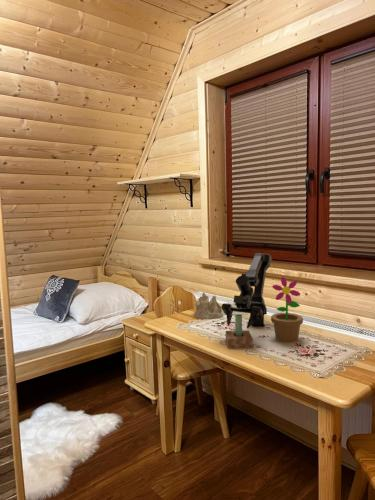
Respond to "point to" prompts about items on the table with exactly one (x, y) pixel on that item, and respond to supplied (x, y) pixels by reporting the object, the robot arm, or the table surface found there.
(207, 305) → the ceramic cottage
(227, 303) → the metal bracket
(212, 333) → the table surface
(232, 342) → the hole block
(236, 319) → the peg
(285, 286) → the flowerpot
